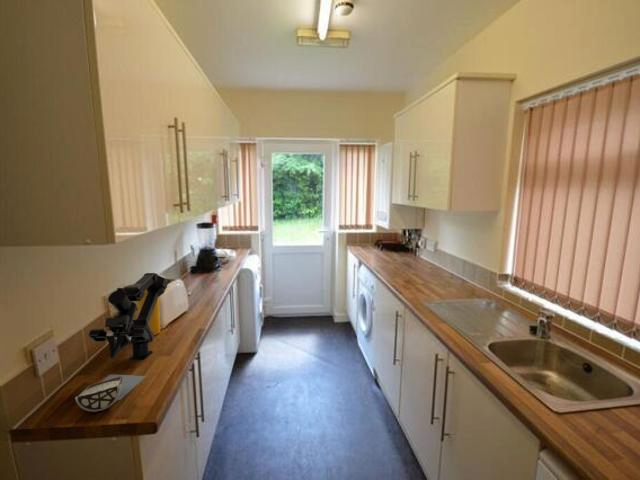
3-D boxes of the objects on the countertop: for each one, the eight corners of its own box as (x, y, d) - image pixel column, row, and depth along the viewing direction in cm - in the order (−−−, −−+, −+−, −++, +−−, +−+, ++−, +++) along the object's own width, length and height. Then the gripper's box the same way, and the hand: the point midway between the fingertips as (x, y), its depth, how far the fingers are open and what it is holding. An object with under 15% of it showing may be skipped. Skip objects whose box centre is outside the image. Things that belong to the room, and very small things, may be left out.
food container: (88, 404, 110) (77, 419, 101) (84, 386, 110) (73, 399, 101) (130, 391, 114) (123, 405, 105) (126, 374, 114) (119, 386, 104)
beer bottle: (164, 332, 166) (162, 274, 162) (146, 338, 158) (143, 278, 155) (154, 328, 171) (151, 272, 167) (135, 334, 163) (132, 275, 160)
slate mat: (110, 374, 125) (110, 374, 125) (146, 376, 124) (146, 376, 124) (78, 398, 110) (78, 397, 110) (119, 400, 109) (119, 400, 109)
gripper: (88, 307, 120) (71, 350, 110) (143, 306, 121) (131, 349, 112) (102, 320, 128) (87, 362, 119) (153, 319, 130) (143, 360, 121)
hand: (112, 358), depth 117 cm, fingers closed
